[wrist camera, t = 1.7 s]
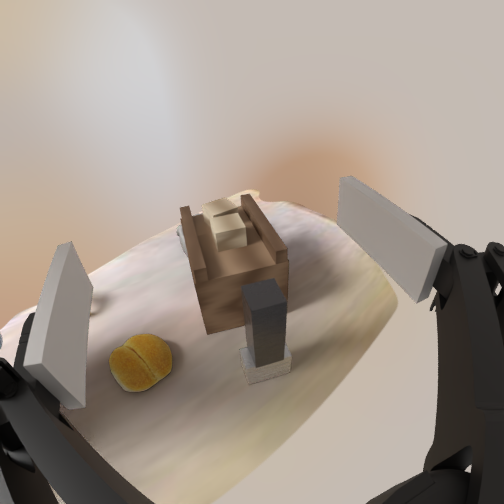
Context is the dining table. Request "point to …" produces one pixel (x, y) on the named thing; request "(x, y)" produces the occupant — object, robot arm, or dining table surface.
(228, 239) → the cream square block
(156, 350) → the bread roll
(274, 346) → the dark gray upright block
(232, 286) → the slot board
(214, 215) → the cream block
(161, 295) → the dining table surface
